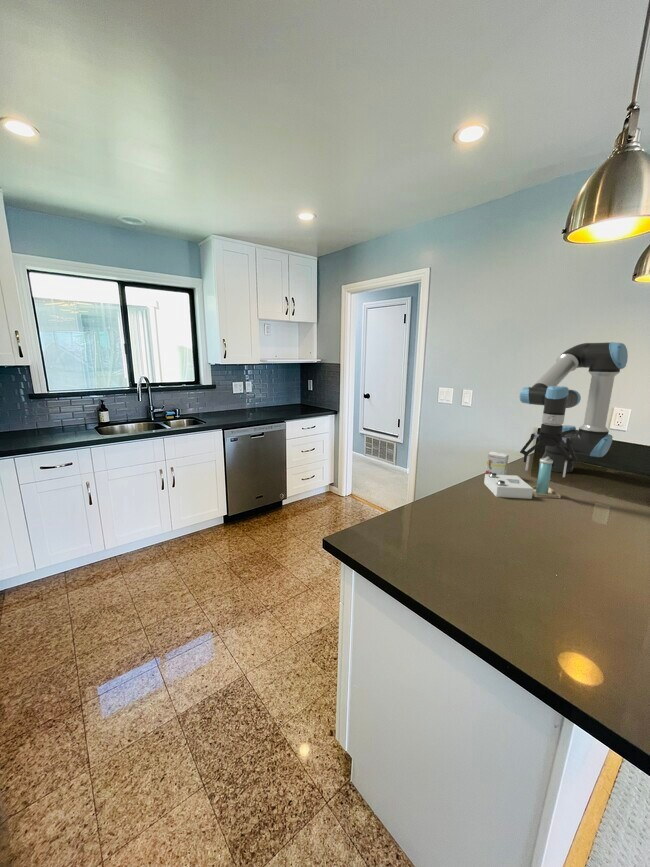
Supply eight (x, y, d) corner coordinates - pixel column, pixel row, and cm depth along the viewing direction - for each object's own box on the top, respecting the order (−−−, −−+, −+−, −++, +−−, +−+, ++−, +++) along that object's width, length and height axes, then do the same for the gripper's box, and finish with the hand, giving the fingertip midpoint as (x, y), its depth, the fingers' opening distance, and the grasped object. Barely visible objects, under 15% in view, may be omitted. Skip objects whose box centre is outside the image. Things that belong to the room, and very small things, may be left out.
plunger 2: (495, 491, 150) (497, 480, 149) (502, 492, 150) (503, 480, 149) (498, 494, 148) (499, 482, 147) (504, 494, 148) (506, 482, 146)
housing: (483, 484, 162) (485, 474, 161) (515, 486, 160) (517, 475, 159) (496, 498, 147) (497, 486, 145) (531, 499, 145) (533, 488, 144)
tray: (524, 489, 156) (524, 485, 156) (548, 490, 155) (548, 486, 155) (534, 498, 147) (535, 494, 146) (560, 499, 145) (560, 495, 145)
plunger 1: (488, 483, 160) (489, 472, 159) (494, 483, 160) (495, 472, 159) (490, 485, 158) (491, 474, 156) (496, 485, 157) (497, 474, 156)
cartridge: (533, 493, 151) (538, 457, 147) (537, 490, 154) (541, 455, 151) (546, 496, 147) (551, 460, 144) (549, 493, 151) (554, 457, 147)
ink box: (484, 476, 174) (487, 453, 171) (487, 473, 177) (490, 451, 175) (503, 480, 168) (506, 456, 166) (505, 477, 172) (508, 454, 169)
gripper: (516, 421, 149) (510, 469, 153) (589, 429, 134) (580, 481, 139) (519, 419, 154) (513, 465, 159) (589, 426, 140) (580, 476, 144)
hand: (544, 473), depth 149 cm, fingers open, 13 cm apart
